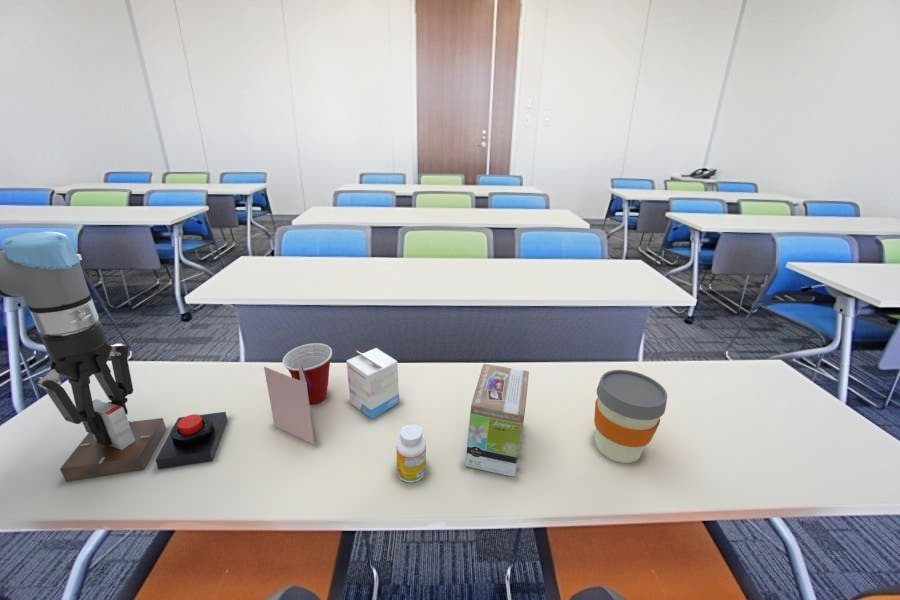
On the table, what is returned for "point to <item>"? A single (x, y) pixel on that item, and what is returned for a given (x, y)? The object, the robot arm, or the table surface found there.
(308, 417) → the greeting card
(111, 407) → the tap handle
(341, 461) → the table surface
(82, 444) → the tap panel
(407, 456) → the supplement bottle
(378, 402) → the ink box
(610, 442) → the reusable coffee cup
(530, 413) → the table surface
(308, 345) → the plastic cup
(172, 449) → the button block
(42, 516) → the table surface
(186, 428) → the button
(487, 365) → the tea box
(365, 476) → the table surface
